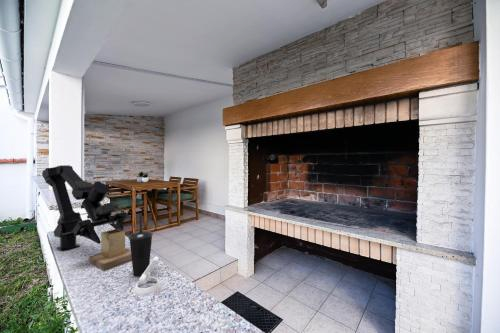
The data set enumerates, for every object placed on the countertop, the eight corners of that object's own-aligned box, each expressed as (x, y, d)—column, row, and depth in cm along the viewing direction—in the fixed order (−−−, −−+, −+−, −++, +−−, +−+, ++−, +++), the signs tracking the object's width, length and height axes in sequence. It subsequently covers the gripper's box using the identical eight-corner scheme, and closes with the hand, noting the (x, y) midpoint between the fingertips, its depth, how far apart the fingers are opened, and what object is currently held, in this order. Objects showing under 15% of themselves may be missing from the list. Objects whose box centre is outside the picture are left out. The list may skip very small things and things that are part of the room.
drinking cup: (158, 270, 78) (157, 214, 78) (141, 280, 71) (140, 219, 70) (141, 266, 80) (141, 213, 80) (123, 277, 73) (122, 218, 73)
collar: (101, 255, 85) (101, 232, 85) (117, 250, 90) (117, 228, 90) (109, 258, 81) (108, 235, 81) (125, 253, 87) (124, 230, 86)
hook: (170, 278, 63) (148, 267, 61) (148, 307, 64) (126, 297, 63) (176, 261, 70) (156, 251, 68) (156, 288, 71) (137, 278, 70)
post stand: (89, 262, 84) (88, 246, 84) (121, 252, 94) (120, 237, 94) (104, 270, 77) (103, 252, 77) (136, 258, 88) (136, 242, 87)
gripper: (76, 199, 79) (95, 233, 75) (124, 193, 96) (142, 220, 92) (65, 219, 83) (82, 252, 78) (113, 209, 100) (130, 236, 95)
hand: (112, 239), depth 86 cm, fingers open, 9 cm apart
